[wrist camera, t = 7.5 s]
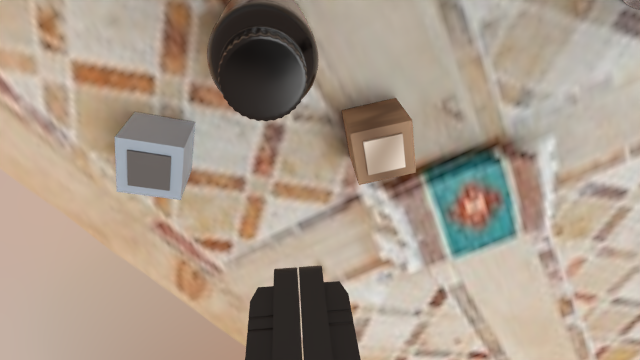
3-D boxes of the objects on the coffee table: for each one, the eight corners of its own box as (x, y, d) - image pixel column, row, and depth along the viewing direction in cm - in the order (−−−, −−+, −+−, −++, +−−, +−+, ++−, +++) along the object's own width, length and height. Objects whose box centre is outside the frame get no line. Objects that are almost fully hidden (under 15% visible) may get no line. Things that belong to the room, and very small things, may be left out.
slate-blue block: (195, 121, 34) (183, 149, 30) (191, 169, 37) (180, 201, 32) (135, 111, 33) (113, 138, 29) (135, 161, 36) (115, 192, 31)
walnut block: (395, 97, 35) (412, 121, 30) (400, 145, 37) (416, 173, 33) (341, 110, 35) (350, 135, 30) (349, 156, 37) (359, 186, 33)
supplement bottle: (255, 90, 33) (246, 158, 23) (202, 17, 29) (165, 60, 19) (324, 46, 32) (347, 99, 21) (277, -35, 28) (279, -18, 18)
